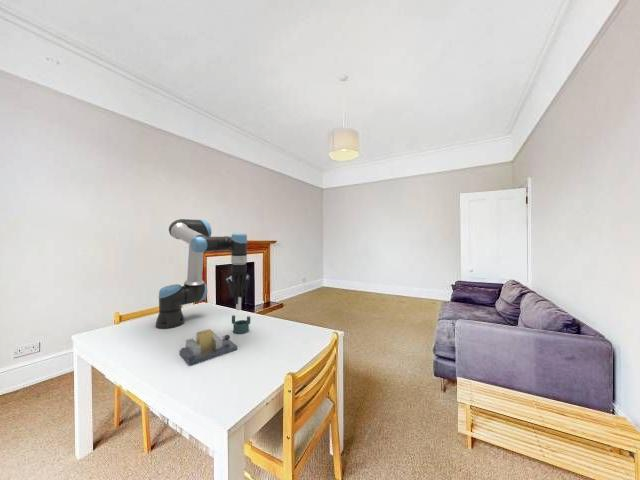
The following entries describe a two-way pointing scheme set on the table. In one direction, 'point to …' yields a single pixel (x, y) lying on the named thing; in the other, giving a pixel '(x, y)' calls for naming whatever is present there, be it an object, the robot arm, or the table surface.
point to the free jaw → (219, 341)
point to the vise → (195, 355)
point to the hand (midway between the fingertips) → (238, 309)
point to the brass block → (205, 339)
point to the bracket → (240, 325)
